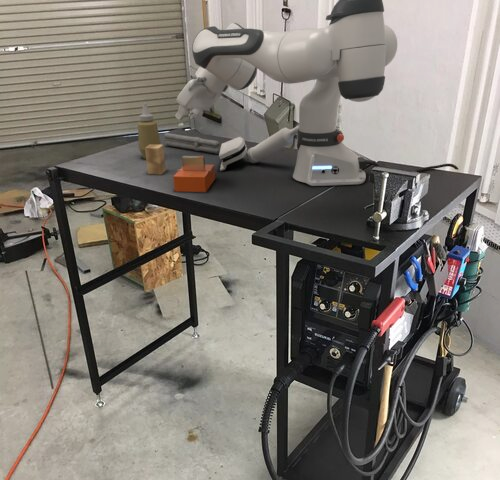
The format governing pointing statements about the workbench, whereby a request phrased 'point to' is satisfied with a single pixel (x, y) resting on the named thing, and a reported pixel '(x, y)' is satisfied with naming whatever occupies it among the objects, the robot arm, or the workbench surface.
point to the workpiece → (155, 159)
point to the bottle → (271, 144)
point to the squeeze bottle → (147, 131)
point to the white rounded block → (232, 151)
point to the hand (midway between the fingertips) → (184, 118)
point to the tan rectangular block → (193, 163)
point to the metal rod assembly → (196, 140)
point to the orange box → (194, 180)
